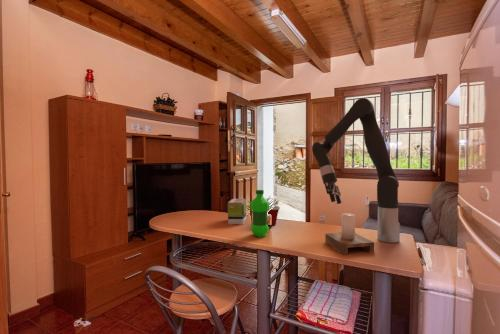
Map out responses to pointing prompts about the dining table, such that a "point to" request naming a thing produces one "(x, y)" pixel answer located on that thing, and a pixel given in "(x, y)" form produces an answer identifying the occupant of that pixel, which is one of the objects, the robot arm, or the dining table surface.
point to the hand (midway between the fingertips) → (336, 202)
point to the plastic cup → (274, 214)
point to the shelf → (348, 242)
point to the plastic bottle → (259, 214)
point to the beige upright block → (348, 226)
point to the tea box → (237, 211)
